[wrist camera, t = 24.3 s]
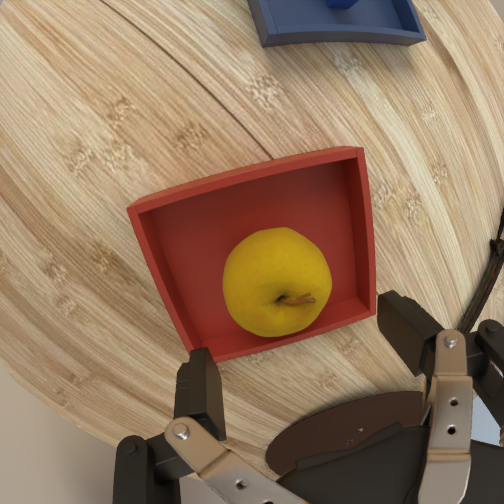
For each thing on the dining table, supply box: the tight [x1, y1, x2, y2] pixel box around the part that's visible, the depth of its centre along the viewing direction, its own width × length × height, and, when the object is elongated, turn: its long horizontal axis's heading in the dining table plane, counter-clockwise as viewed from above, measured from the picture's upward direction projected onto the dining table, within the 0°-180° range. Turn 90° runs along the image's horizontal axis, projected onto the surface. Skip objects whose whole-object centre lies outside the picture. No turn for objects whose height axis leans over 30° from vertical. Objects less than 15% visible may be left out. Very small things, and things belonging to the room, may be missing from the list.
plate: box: [266, 391, 423, 476], centre depth 33 cm, size 28×28×4 cm
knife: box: [458, 209, 504, 334], centre depth 25 cm, size 25×6×1 cm, turn 159°
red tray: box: [126, 146, 376, 363], centre depth 20 cm, size 15×13×3 cm
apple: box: [223, 227, 332, 337], centre depth 17 cm, size 6×6×8 cm
